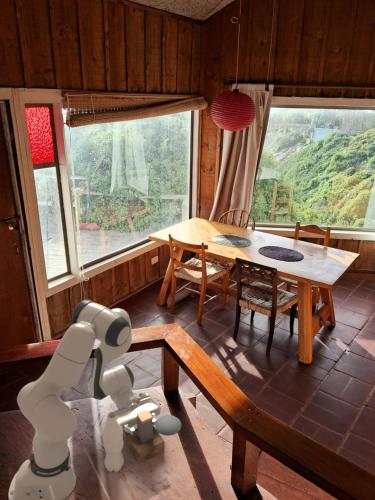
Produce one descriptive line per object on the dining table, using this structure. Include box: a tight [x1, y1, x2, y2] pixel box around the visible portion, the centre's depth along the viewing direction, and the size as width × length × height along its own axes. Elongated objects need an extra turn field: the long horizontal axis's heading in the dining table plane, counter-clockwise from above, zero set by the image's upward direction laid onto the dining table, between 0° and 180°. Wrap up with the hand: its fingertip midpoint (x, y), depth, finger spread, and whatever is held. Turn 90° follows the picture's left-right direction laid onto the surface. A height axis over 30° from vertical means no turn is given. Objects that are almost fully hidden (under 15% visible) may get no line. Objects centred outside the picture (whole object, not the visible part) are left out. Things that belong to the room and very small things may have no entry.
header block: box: [125, 425, 165, 464], centre depth 159 cm, size 11×11×6 cm
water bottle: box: [102, 411, 125, 473], centre depth 148 cm, size 7×7×25 cm
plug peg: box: [136, 409, 154, 444], centre depth 157 cm, size 4×4×16 cm
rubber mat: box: [154, 414, 182, 436], centre depth 171 cm, size 11×11×1 cm
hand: (144, 428), depth 157 cm, fingers open, 8 cm apart
